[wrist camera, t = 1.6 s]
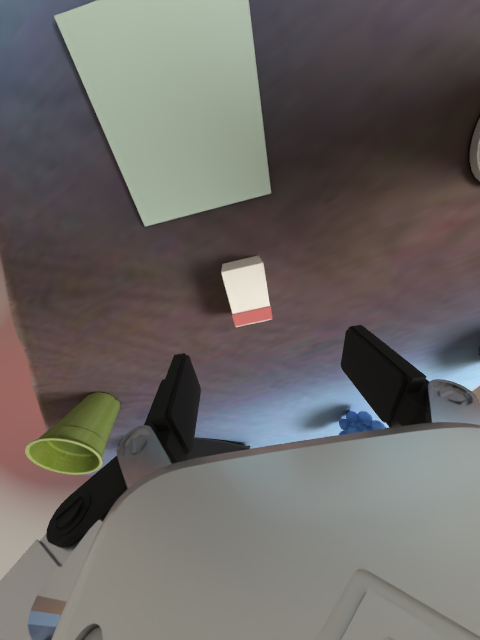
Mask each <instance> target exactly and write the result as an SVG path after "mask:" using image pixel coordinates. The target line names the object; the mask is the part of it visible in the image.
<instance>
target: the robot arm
mask: <svg viewBox="0 0 480 640" xmlns="http://www.w3.org/2000/svg"><path fill="white" fill-rule="evenodd" d="M470 165H471V170H472V172H473V174H474V176H475V178H476V179H477V180H478V181H480V118H479V121H478V123H477V125H476V128H475V131H474V134H473V137H472V142H471V147H470ZM341 367H342V370H343V371H344V372H345V374H346V375H347V376H348V378H349V379H350V380H351V381H352V383H353V384H354V385H355V387H356V388H357V389H358V391H359V392H360V393H361V395H362V396H363V397H364V398H365V400H366V401H367V402H368V404H369V405H370V406H371V408H372V409H373V410H374V411H375V413H376V414H377V415H378V417H379V418H380V419H381V420H382V421H383V422H386V423H387V425H388V426H389V427H390V428H385V429H378V430H371V431H364V432H357V433H351V434H344V435H337V436H331V437H324V438H318V439H311V440H304V441H298V442H291V443H285V444H279V445H272V446H266V447H260V448H253V449H247V450H241V451H234V452H228V453H222V454H217V455H211V456H206V457H200V458H195V459H190V460H188V455H189V453H190V452H192V449H193V442H194V435H195V428H196V421H197V414H198V407H199V400H200V393H201V388H200V385H199V382H198V379H197V376H196V374H195V371H194V368H193V365H192V363H191V360H190V357H189V355H186V354H185V353H183V354H177V355H174V357H173V360H172V362H171V365H170V368H169V370H168V373H167V376H166V379H164V380H162V382H161V383H160V386H159V389H158V391H157V394H156V396H155V399H154V401H153V404H152V406H151V409H150V412H149V414H148V417H147V419H146V422H145V424H144V425H141V426H138V427H136V428H134V429H132V430H131V431H130V432H128V433H127V434H126V435H125V436H124V438H123V439H122V440H121V442H120V444H119V445H118V449H117V456H116V457H115V458H113V459H112V460H111V461H110V462H109V463H108V464H106V465H105V466H104V467H103V468H102V469H101V470H99V471H98V472H97V473H96V474H95V475H94V476H92V477H91V478H90V479H89V480H88V481H87V482H85V483H84V484H83V485H82V486H81V487H79V488H78V489H77V490H76V491H75V492H74V493H72V494H71V495H70V496H69V497H68V498H67V499H66V500H65V501H64V502H63V503H62V504H61V505H60V506H59V508H58V509H57V510H56V512H55V513H54V515H53V517H52V519H51V520H50V522H49V525H48V528H47V533H46V534H45V536H44V537H43V538H42V539H41V540H40V541H39V540H36V541H35V542H34V543H33V544H32V545H31V547H30V548H29V549H28V550H27V551H26V552H25V553H24V554H23V556H22V557H21V558H20V559H19V560H18V562H16V564H15V565H14V566H13V567H12V568H11V569H10V571H9V572H8V573H7V574H6V575H5V576H4V577H3V578H2V580H1V581H0V640H480V402H479V400H478V398H477V397H476V395H474V394H473V393H472V392H471V391H470V390H468V389H467V388H465V387H464V386H461V385H459V384H457V383H454V382H451V381H447V380H440V379H436V380H432V381H430V382H429V381H428V380H426V379H425V378H426V376H425V375H424V374H423V373H421V372H420V371H419V370H418V369H416V368H415V367H414V366H413V365H411V364H410V363H409V362H408V361H406V360H405V359H404V358H403V357H401V356H400V355H399V354H397V353H396V352H395V351H394V350H392V349H391V348H390V347H389V346H387V345H386V344H385V343H384V342H382V341H381V340H380V339H379V338H377V337H376V336H375V335H374V334H372V333H371V332H370V331H368V330H367V329H366V328H365V327H363V326H362V325H357V326H351V327H349V329H348V330H347V331H346V335H345V341H344V348H343V354H342V360H341ZM181 461H182V462H181Z"/></svg>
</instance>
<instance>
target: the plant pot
mask: <svg viewBox="0 0 480 640" xmlns="http://www.w3.org/2000/svg"><path fill="white" fill-rule="evenodd" d="M119 409H120V403H119V401H118V400H116V399H115V398H114V397H113V396H112V395H109V394H106V393H101V392H95V393H92V394H90V395H88V396H87V397H86V398H84V399H83V400H82V401H81V402H80V403H79V404H78V405H77V406H76V407H75V408H74V409H73V410H71V411H70V412H69V413H68V414H67V415H66V416H65V417H64V418H63V419H62V420H60V421H59V422H58V423H57V424H56V425H55V426H54V427H53V428H51V429H49V430H48V431H47V432H46V433H45V434H43V435H42V436H41V437H40V438H39V439H37V440H34V441H32V442H31V443H30V444H28V445H27V447H26V449H25V453H26V455H27V457H28V458H29V459H30V460H31V461H32V462H33V463H35V464H37V465H39V466H40V467H43V468H45V469H48V470H51V471H54V472H59V473H65V474H87V473H91V472H94V471H96V470H98V469H99V468H100V467H101V466H102V463H103V460H102V456H103V453H104V450H105V445H106V442H107V440H108V437H109V435H110V432H111V430H112V427H113V424H114V422H115V419H116V417H117V414H118V412H119Z"/></svg>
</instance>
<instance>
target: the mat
mask: <svg viewBox="0 0 480 640" xmlns="http://www.w3.org/2000/svg"><path fill="white" fill-rule="evenodd" d="M54 17H55V20H56V22H57V24H58V26H59V29H60V31H61V33H62V36H63V38H64V40H65V43H66V45H67V47H68V50H69V52H70V54H71V57H72V59H73V61H74V64H75V66H76V68H77V71H78V73H79V75H80V77H81V80H82V82H83V84H84V87H85V89H86V91H87V94H88V96H89V98H90V101H91V103H92V105H93V108H94V110H95V112H96V115H97V117H98V119H99V122H100V124H101V126H102V128H103V131H104V133H105V135H106V138H107V140H108V142H109V145H110V147H111V149H112V152H113V154H114V156H115V159H116V161H117V163H118V166H119V168H120V170H121V172H122V175H123V177H124V179H125V182H126V184H127V186H128V189H129V191H130V193H131V196H132V198H133V200H134V203H135V205H136V207H137V210H138V212H139V214H140V217H141V219H142V221H143V223H144V226H150V225H154V224H157V223H161V222H165V221H169V220H172V219H176V218H180V217H184V216H188V215H191V214H195V213H199V212H203V211H206V210H210V209H214V208H218V207H222V206H225V205H229V204H233V203H237V202H241V201H244V200H248V199H252V198H256V197H259V196H263V195H267V194H271V188H270V179H269V171H268V162H267V153H266V145H265V136H264V128H263V119H262V111H261V102H260V94H259V85H258V77H257V68H256V59H255V51H254V42H253V34H252V25H251V17H250V8H249V0H97V1H94V2H91V3H89V4H86V5H83V6H80V7H77V8H75V9H72V10H69V11H66V12H64V13H61V14H58V15H55V16H54Z"/></svg>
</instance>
